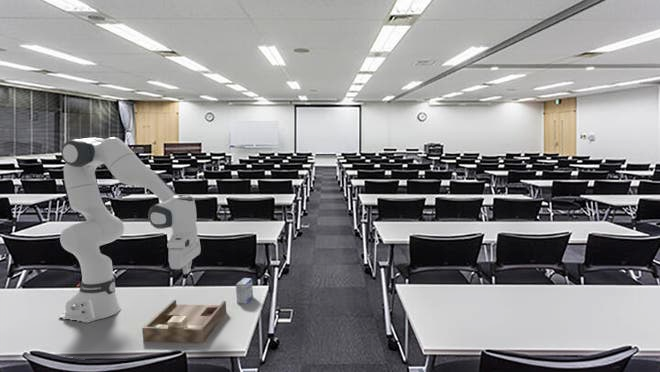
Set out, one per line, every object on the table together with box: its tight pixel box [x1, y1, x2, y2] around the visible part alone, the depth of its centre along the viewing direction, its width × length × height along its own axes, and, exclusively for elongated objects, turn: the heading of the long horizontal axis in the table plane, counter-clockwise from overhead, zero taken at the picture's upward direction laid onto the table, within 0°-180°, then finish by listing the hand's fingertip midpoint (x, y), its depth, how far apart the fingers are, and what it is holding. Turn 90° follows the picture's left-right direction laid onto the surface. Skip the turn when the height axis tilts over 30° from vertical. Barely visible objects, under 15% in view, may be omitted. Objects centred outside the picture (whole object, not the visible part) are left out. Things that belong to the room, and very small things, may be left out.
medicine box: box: [235, 277, 254, 305], centre depth 191 cm, size 8×4×9 cm, turn 168°
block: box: [167, 316, 187, 328], centre depth 158 cm, size 5×5×4 cm
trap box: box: [141, 299, 227, 344], centre depth 167 cm, size 22×25×5 cm
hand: (186, 272), depth 168 cm, fingers closed
